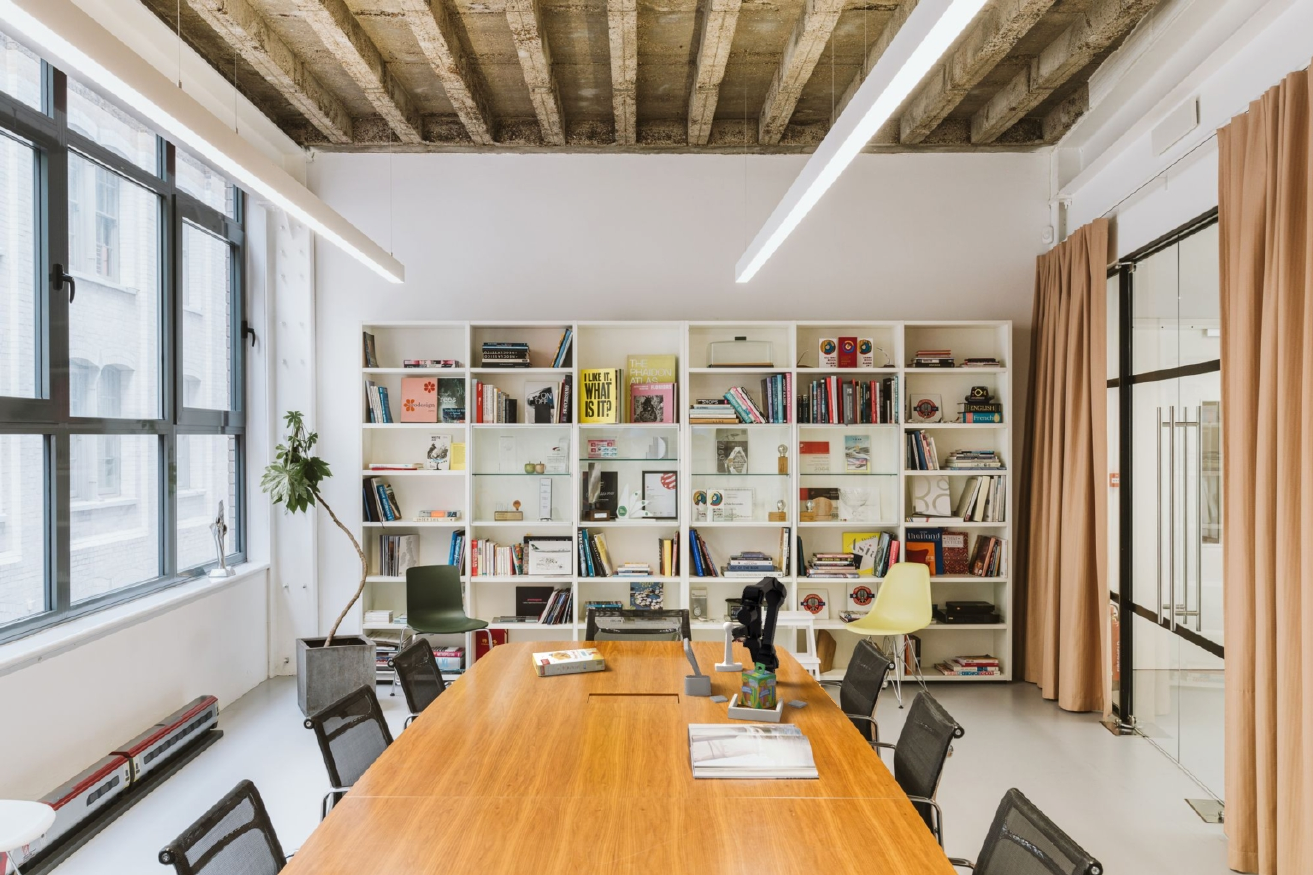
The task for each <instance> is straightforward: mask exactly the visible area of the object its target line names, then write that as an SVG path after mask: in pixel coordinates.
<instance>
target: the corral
mask: <svg viewBox="0 0 1313 875" xmlns="http://www.w3.org/2000/svg"><path fill="white" fill-rule="evenodd" d="M733 694H734V695H732V698H731V700H730V702H729V705H728V707H727V718H728V719H733V720H744V721H746V720H747V721H758V722H769V723H780V720H781V717H782V712H783V711H784V710H783V708H784V696H780V697H779V698H778V701H777V704H776V708H775V710H773V709H753V708H751V707H737V706H738V704H739V696H738V695H739V694H738V693H733Z"/></svg>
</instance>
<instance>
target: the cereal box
mask: <svg viewBox="0 0 1313 875" xmlns="http://www.w3.org/2000/svg"><path fill="white" fill-rule="evenodd" d="M532 665H533V668H534V669H535V672H536V674H537V676H538V677H547V676H556V675H565V674H575V673H577V674H578V673H585V672H586V673H587V672H595V671H605V670H606V658H605V657H604V655H602V653H601V652H600V651H599V650H598V648H596V647H592V648H591V647H590V648H578V649H571V650H570V649H567V650H557V651H544V652H535V653H534V652H532Z"/></svg>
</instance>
